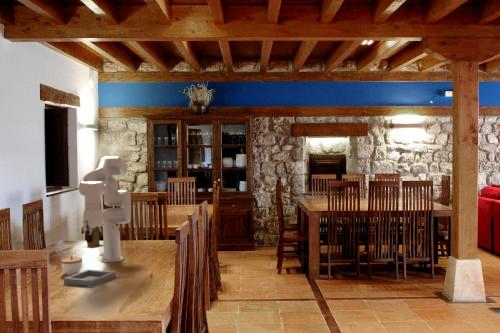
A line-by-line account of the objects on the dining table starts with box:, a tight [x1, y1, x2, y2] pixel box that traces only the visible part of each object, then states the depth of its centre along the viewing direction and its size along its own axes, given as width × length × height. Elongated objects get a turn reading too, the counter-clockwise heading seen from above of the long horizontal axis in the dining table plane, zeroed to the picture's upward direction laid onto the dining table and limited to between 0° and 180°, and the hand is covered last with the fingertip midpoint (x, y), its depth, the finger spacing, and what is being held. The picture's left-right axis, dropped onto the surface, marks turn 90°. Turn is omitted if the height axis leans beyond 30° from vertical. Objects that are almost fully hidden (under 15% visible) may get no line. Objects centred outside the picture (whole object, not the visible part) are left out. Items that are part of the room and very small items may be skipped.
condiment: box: [85, 226, 105, 249], centre depth 246 cm, size 7×8×12 cm
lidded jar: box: [60, 256, 83, 276], centre depth 259 cm, size 11×11×9 cm
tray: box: [63, 268, 117, 288], centre depth 243 cm, size 18×18×3 cm
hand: (93, 240), depth 246 cm, fingers closed on condiment, 6 cm apart
